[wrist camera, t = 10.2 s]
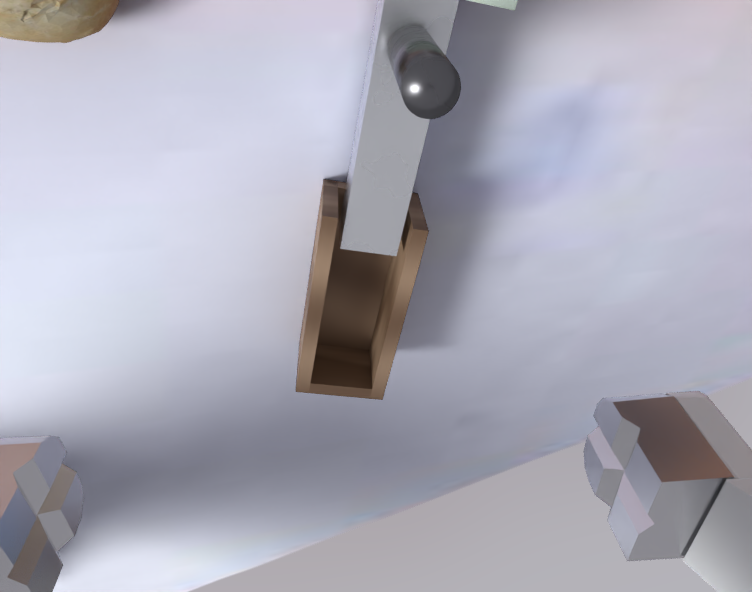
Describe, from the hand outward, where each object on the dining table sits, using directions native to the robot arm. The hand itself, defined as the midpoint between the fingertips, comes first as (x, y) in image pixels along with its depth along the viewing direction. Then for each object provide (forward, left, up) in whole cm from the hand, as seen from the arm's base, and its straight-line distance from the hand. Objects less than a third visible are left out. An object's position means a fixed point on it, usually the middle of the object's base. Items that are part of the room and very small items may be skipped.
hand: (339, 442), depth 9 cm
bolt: (0, -3, -22) cm, 23 cm away
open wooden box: (-12, -3, -23) cm, 26 cm away
